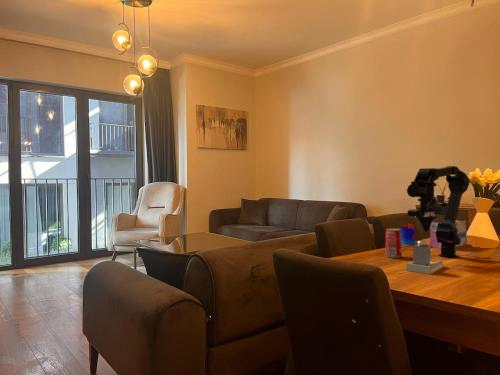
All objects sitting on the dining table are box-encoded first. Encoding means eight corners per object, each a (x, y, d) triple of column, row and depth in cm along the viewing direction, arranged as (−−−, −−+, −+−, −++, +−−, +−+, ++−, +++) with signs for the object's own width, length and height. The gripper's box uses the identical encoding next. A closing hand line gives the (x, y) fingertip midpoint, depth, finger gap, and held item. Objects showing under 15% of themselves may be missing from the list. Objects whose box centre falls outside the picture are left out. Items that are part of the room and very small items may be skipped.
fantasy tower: (392, 244, 216) (392, 222, 216) (409, 242, 220) (409, 221, 220) (406, 247, 205) (406, 225, 205) (424, 246, 209) (425, 224, 208)
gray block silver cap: (417, 264, 159) (417, 239, 158) (430, 266, 155) (430, 241, 155) (413, 266, 155) (413, 241, 155) (426, 268, 152) (426, 242, 151)
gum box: (454, 242, 219) (454, 218, 219) (468, 244, 213) (468, 220, 212) (429, 247, 206) (429, 221, 206) (443, 249, 199) (444, 223, 199)
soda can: (403, 258, 177) (403, 230, 177) (386, 258, 179) (386, 230, 178) (400, 255, 184) (400, 228, 184) (384, 255, 186) (384, 228, 185)
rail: (421, 263, 168) (421, 256, 168) (443, 266, 162) (443, 259, 162) (406, 270, 155) (406, 263, 155) (429, 274, 149) (430, 267, 149)
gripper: (429, 198, 161) (428, 235, 161) (457, 196, 169) (456, 232, 170) (406, 196, 170) (406, 232, 171) (434, 195, 179) (434, 229, 180)
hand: (426, 231), depth 173 cm, fingers closed
